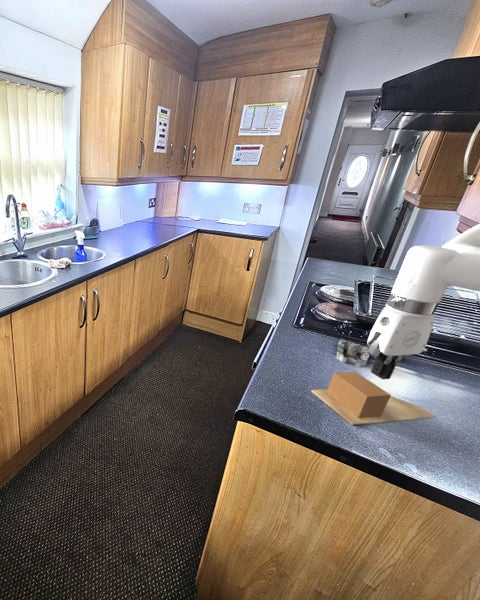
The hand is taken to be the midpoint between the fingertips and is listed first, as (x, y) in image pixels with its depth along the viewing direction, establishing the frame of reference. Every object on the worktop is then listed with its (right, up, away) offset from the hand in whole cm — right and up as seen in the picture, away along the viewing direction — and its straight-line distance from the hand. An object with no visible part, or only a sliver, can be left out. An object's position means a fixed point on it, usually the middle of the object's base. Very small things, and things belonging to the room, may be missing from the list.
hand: (379, 375), depth 77 cm
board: (+1, -8, +3) cm, 8 cm away
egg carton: (+11, 0, +22) cm, 25 cm away
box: (-4, -2, 0) cm, 5 cm away
